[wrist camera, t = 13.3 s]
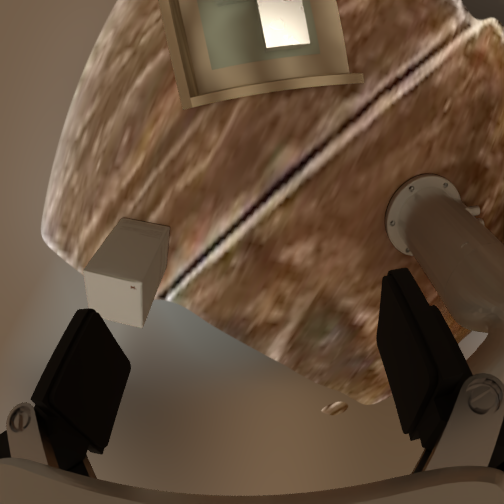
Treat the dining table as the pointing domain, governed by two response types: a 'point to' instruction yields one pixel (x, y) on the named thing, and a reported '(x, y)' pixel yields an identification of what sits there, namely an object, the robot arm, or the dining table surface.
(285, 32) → the bracket
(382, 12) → the dining table surface
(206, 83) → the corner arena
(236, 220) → the dining table surface
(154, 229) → the supplement box
